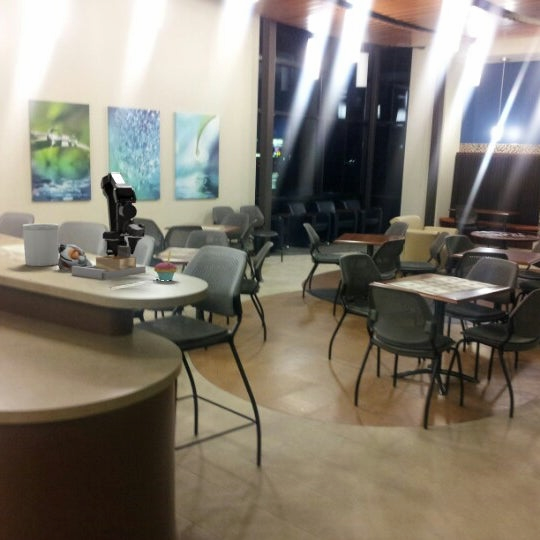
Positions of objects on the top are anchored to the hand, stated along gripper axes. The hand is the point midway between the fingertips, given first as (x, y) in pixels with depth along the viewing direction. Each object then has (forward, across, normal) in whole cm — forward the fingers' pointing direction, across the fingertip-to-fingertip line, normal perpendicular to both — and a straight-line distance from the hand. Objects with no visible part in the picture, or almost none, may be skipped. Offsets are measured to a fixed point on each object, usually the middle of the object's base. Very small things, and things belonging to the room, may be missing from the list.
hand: (124, 255), depth 240 cm
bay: (+8, -8, 0) cm, 11 cm away
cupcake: (+8, -2, -23) cm, 24 cm away
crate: (+6, -5, 0) cm, 8 cm away
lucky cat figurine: (+8, -7, +21) cm, 23 cm away
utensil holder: (+8, -4, +45) cm, 46 cm away
